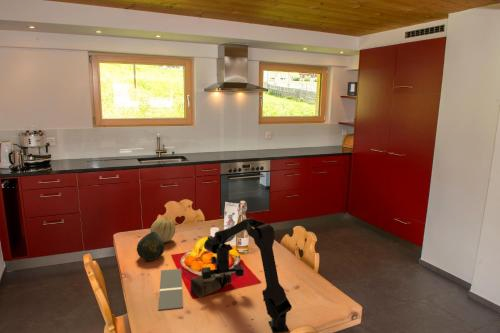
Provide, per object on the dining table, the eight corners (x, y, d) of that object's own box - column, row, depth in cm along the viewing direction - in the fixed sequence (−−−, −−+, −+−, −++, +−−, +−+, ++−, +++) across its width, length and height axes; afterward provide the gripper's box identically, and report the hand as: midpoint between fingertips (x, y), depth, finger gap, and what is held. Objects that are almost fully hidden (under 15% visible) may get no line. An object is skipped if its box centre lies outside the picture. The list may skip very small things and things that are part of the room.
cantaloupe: (145, 244, 205) (145, 220, 202) (159, 235, 219) (158, 213, 216) (167, 248, 201) (167, 223, 198) (179, 238, 214) (179, 216, 212)
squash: (130, 255, 177) (150, 233, 178) (132, 245, 192) (150, 224, 193) (152, 270, 182) (171, 248, 183) (152, 259, 196) (170, 239, 197)
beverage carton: (232, 284, 163) (232, 271, 162) (199, 299, 150) (199, 285, 149) (221, 277, 169) (221, 265, 167) (189, 292, 155) (189, 278, 154)
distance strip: (182, 307, 143) (182, 306, 143) (158, 310, 141) (158, 309, 140) (181, 269, 175) (181, 268, 175) (161, 271, 173) (161, 270, 173)
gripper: (239, 248, 162) (238, 278, 165) (200, 250, 158) (200, 281, 161) (244, 258, 151) (243, 290, 154) (202, 261, 147) (202, 294, 150)
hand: (222, 288), depth 155 cm, fingers closed
